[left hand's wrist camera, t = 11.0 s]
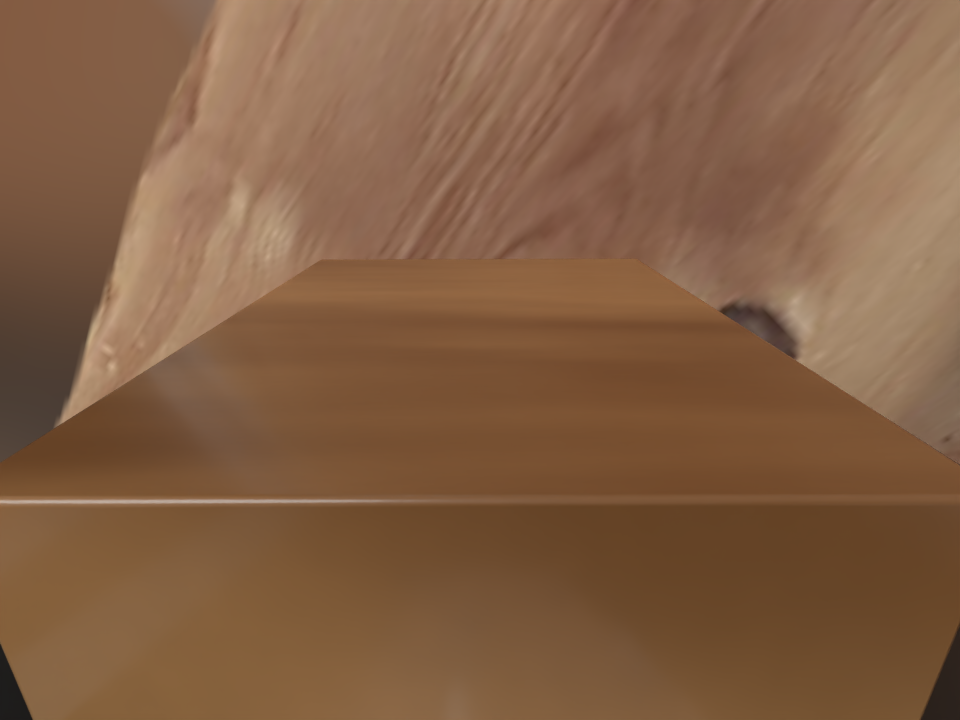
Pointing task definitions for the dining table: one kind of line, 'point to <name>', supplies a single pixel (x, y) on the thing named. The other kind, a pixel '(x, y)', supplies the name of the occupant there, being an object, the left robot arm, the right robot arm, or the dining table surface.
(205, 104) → the dining table surface
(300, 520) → the box
